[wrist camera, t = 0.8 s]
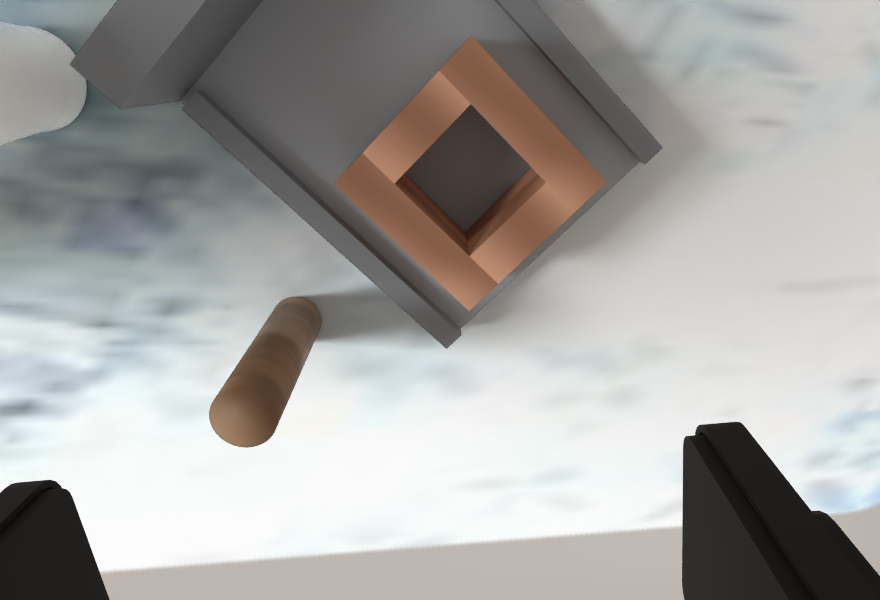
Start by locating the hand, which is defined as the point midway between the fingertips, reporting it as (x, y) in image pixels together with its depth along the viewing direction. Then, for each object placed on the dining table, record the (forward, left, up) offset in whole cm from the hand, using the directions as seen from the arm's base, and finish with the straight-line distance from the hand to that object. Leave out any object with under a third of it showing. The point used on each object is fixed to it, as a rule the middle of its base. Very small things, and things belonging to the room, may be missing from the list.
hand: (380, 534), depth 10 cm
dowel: (-11, 0, -30) cm, 32 cm away
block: (+3, -1, -27) cm, 27 cm away
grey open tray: (+3, +4, -30) cm, 30 cm away
